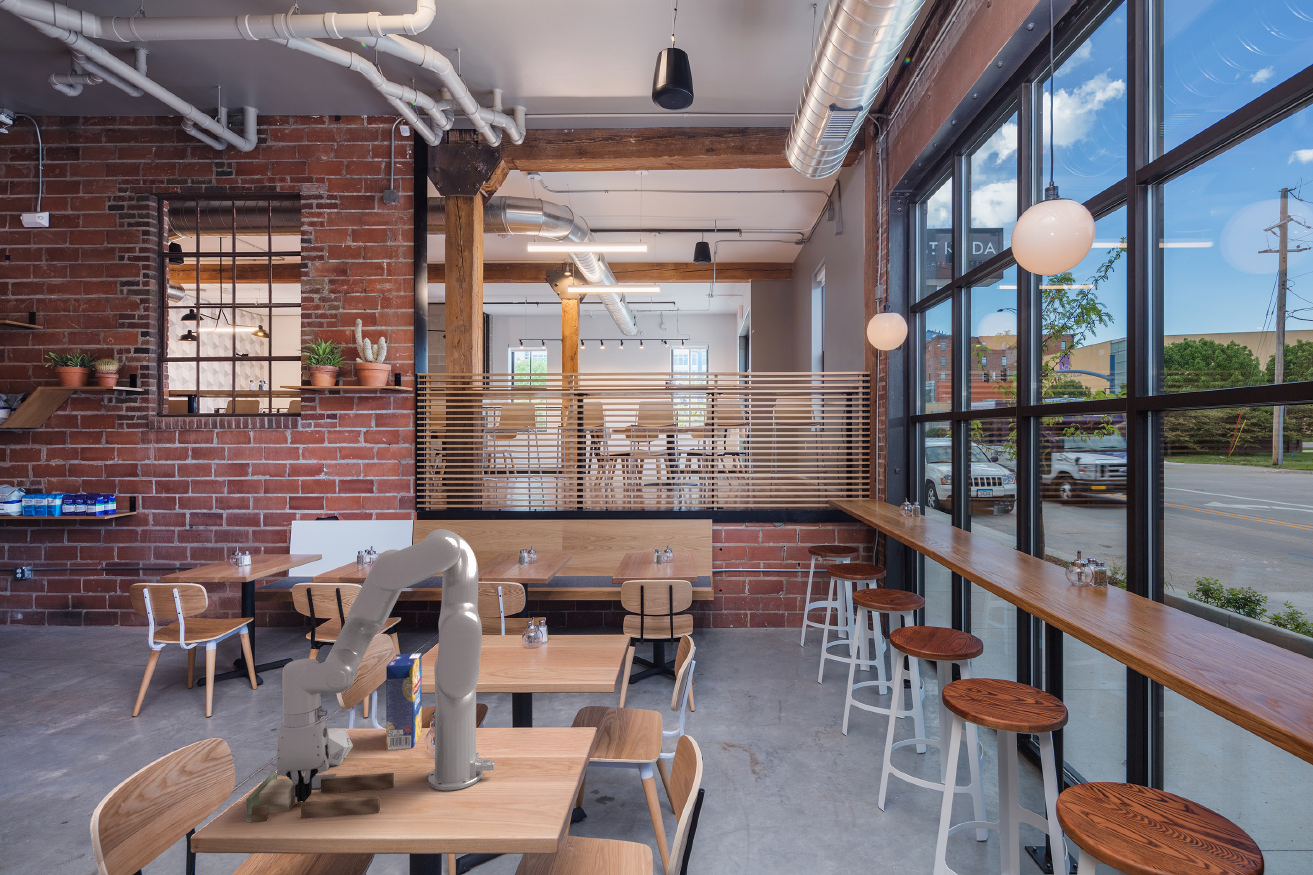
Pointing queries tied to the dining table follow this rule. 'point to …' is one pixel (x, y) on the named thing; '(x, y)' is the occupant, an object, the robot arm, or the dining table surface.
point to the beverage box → (403, 701)
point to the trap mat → (319, 780)
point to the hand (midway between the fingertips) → (303, 798)
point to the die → (338, 745)
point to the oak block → (278, 795)
